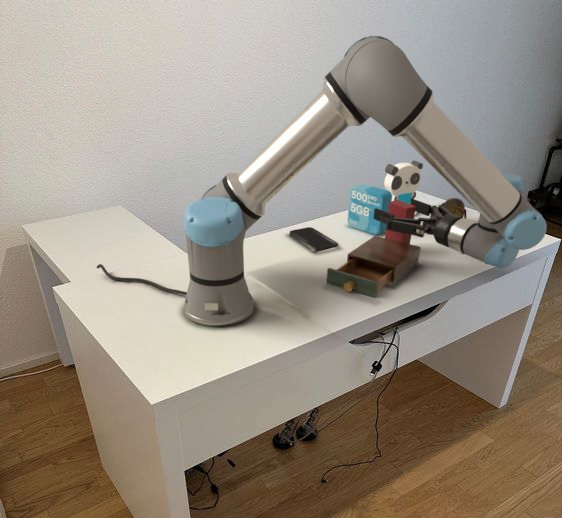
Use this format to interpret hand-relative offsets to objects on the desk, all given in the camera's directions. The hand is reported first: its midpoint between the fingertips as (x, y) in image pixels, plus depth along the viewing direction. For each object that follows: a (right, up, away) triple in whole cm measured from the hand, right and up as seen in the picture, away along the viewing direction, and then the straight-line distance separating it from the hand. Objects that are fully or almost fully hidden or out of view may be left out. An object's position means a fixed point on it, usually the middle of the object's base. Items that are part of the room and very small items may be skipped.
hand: (393, 208), depth 144 cm
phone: (-21, -7, +9) cm, 24 cm away
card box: (+2, -10, +5) cm, 11 cm away
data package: (-4, -1, +18) cm, 18 cm away
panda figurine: (+8, +8, +31) cm, 33 cm away
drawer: (-10, -22, -13) cm, 27 cm away
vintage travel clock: (+22, +1, +21) cm, 30 cm away
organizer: (-4, -18, -6) cm, 19 cm away
